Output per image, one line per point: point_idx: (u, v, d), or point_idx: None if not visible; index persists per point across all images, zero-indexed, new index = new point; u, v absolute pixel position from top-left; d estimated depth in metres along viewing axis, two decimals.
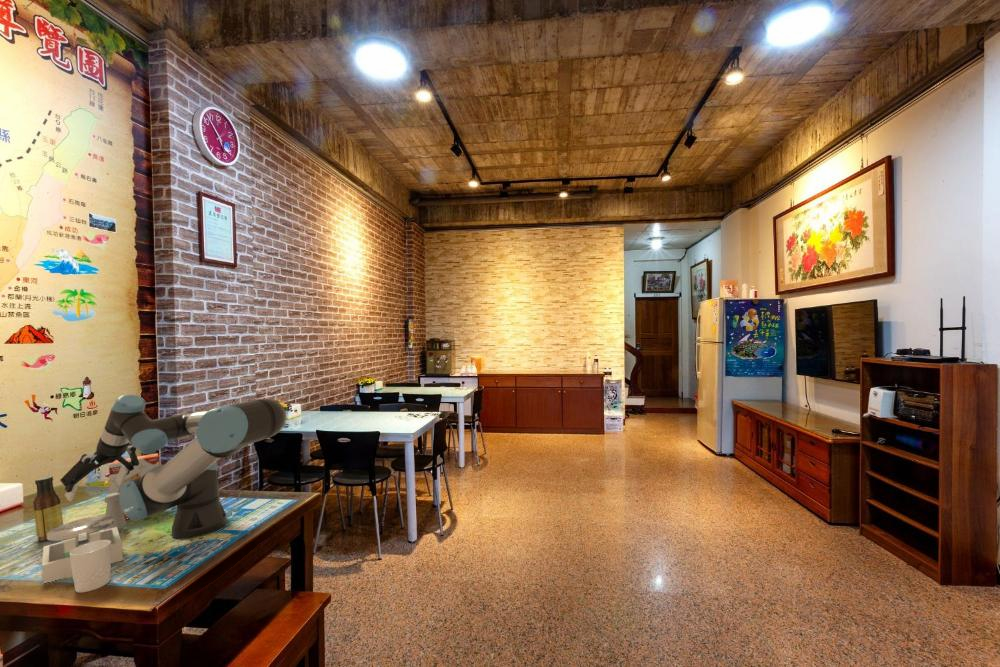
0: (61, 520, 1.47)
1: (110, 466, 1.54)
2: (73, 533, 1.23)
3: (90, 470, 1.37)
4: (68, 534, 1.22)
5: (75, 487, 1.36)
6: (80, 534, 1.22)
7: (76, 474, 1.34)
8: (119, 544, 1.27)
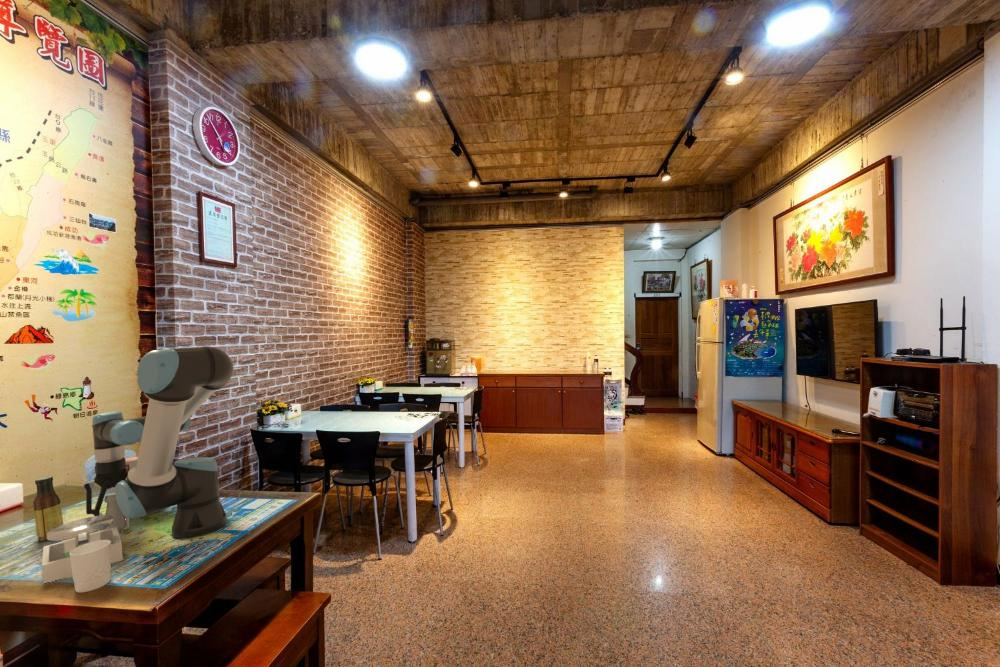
0: (61, 520, 1.47)
1: None
2: (73, 533, 1.23)
3: (101, 496, 1.43)
4: (68, 534, 1.22)
5: None
6: (80, 534, 1.22)
7: (89, 501, 1.41)
8: (119, 544, 1.27)
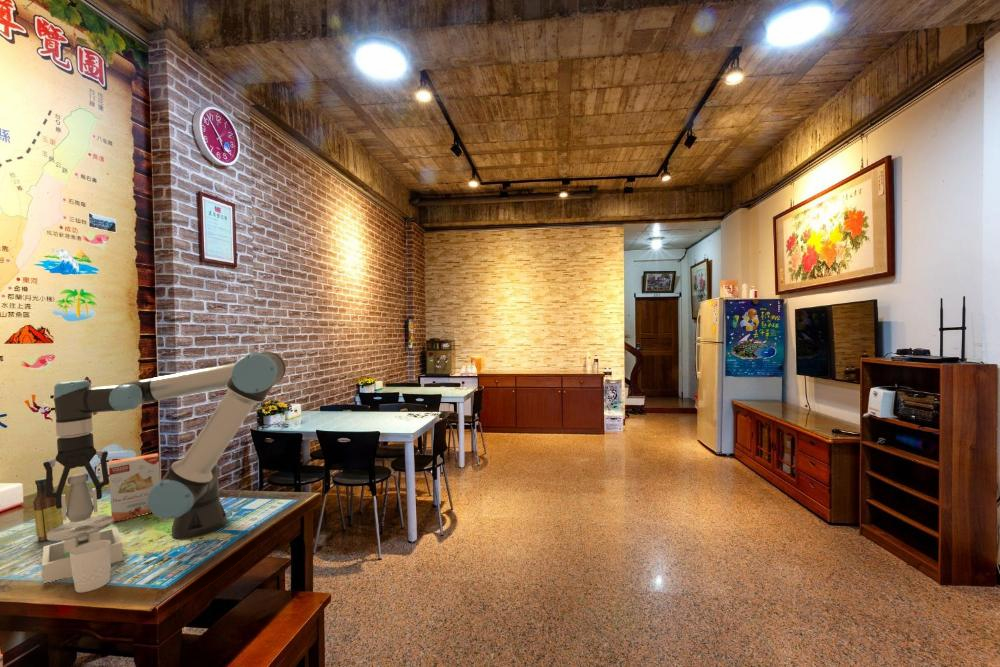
0: (61, 520, 1.47)
1: (110, 466, 1.54)
2: (73, 533, 1.23)
3: (64, 476, 1.25)
4: (68, 534, 1.22)
5: (62, 500, 1.24)
6: (80, 534, 1.22)
7: (49, 482, 1.23)
8: (119, 544, 1.27)
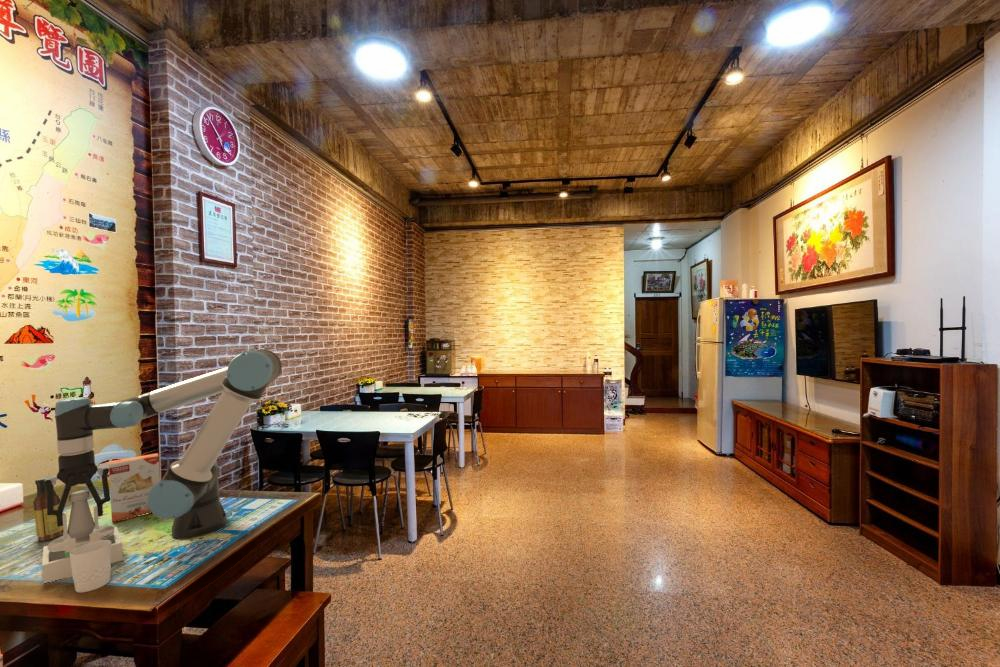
0: None
1: (110, 466, 1.54)
2: None
3: (65, 494, 1.25)
4: None
5: (64, 518, 1.24)
6: None
7: (50, 500, 1.23)
8: (119, 544, 1.27)
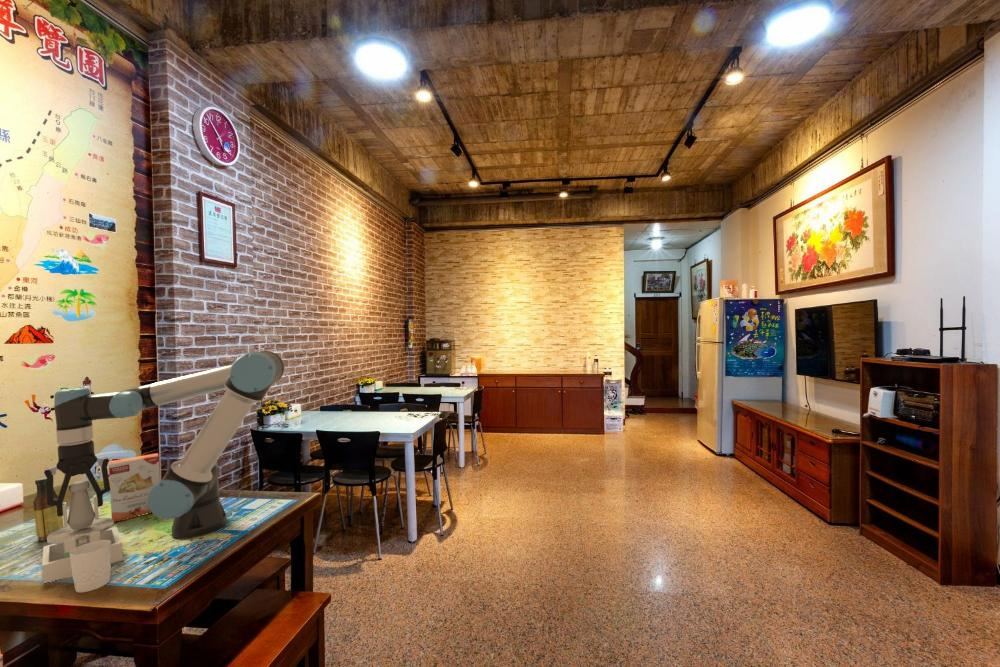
0: (61, 520, 1.47)
1: (110, 466, 1.54)
2: (73, 536, 1.23)
3: (65, 484, 1.25)
4: (68, 537, 1.22)
5: (64, 508, 1.24)
6: (80, 537, 1.22)
7: (50, 489, 1.23)
8: (119, 544, 1.27)
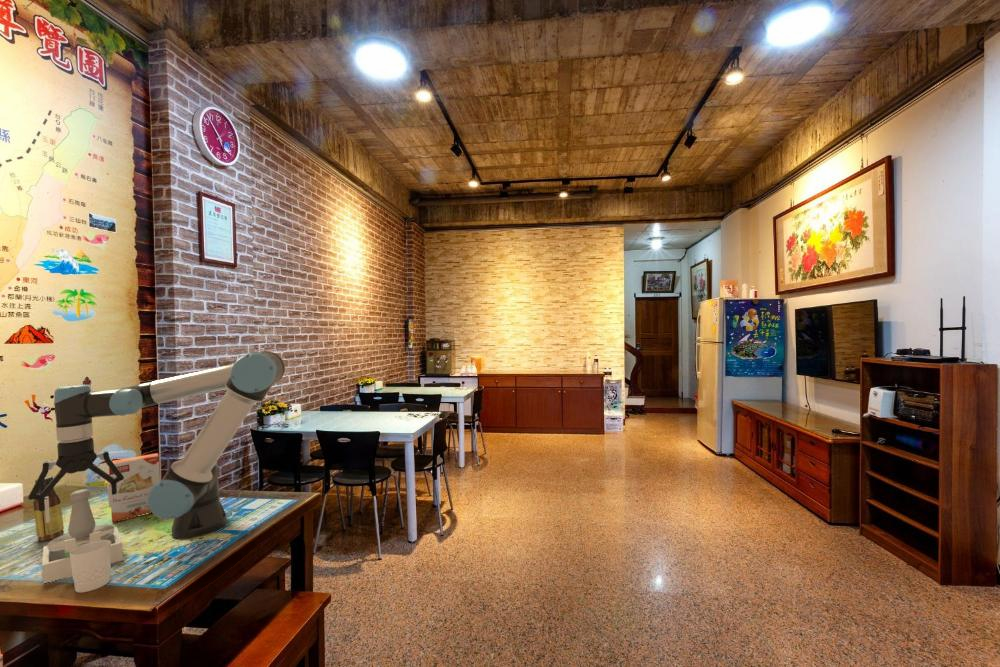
0: (61, 520, 1.47)
1: None
2: None
3: (56, 479, 1.24)
4: None
5: (46, 503, 1.22)
6: None
7: (38, 484, 1.21)
8: (119, 544, 1.27)
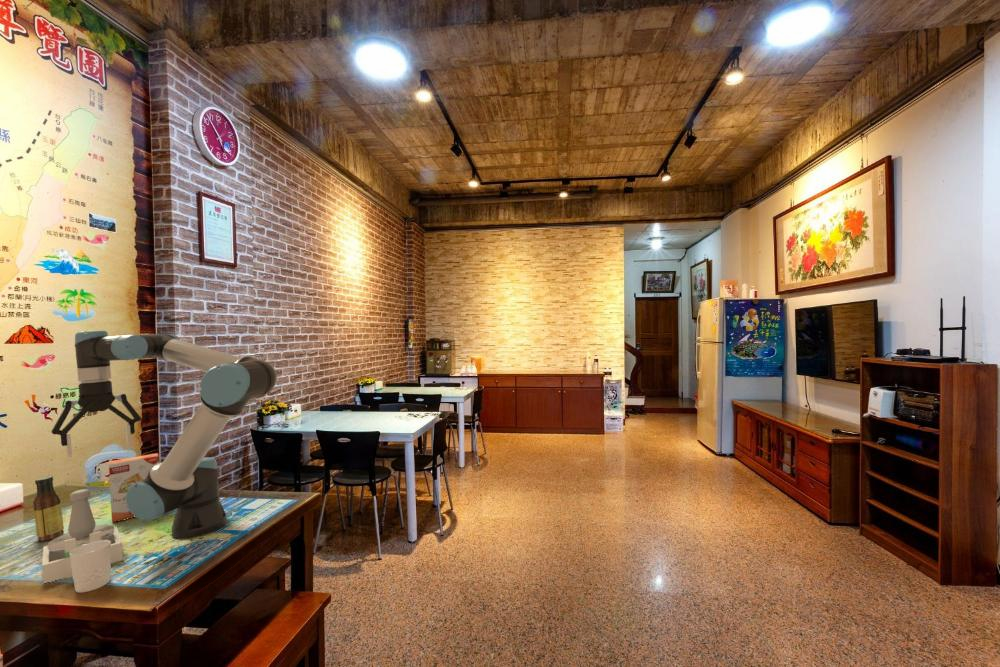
0: (61, 520, 1.47)
1: (110, 466, 1.54)
2: None
3: (78, 417, 1.31)
4: None
5: (68, 438, 1.30)
6: None
7: (61, 420, 1.29)
8: (119, 544, 1.27)
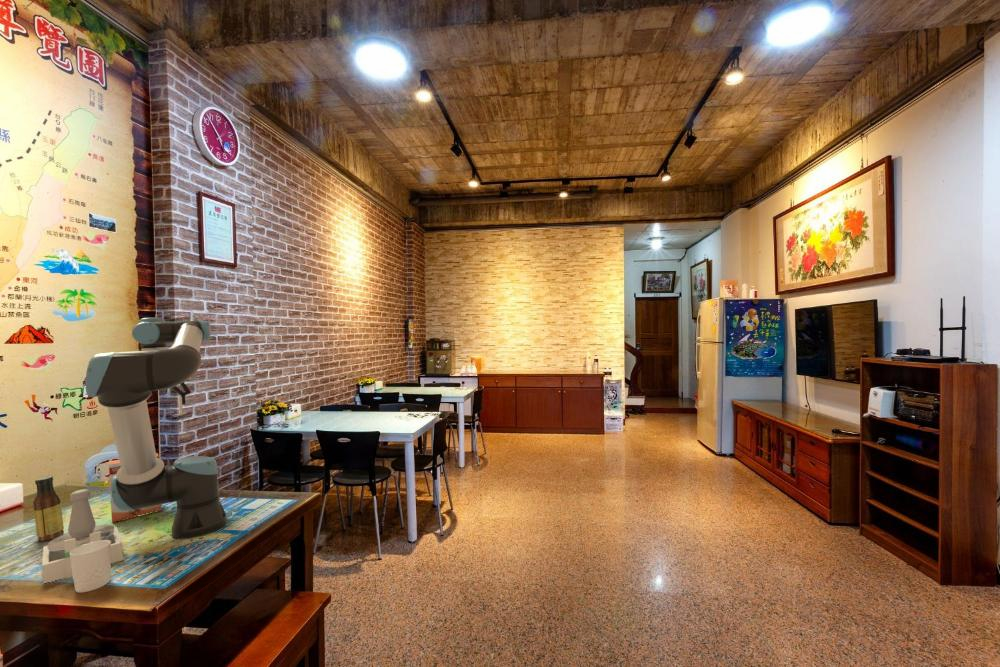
0: (61, 520, 1.47)
1: (110, 466, 1.54)
2: None
3: None
4: None
5: None
6: None
7: None
8: (119, 544, 1.27)
